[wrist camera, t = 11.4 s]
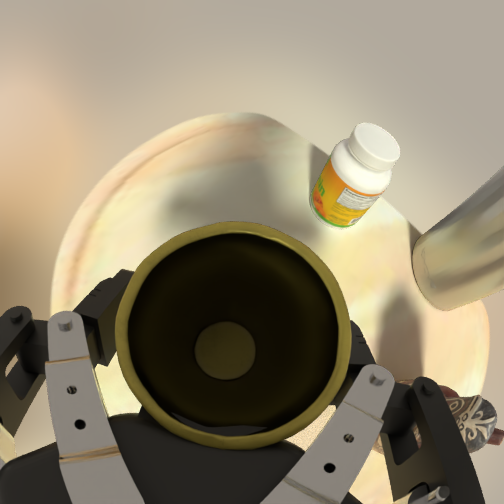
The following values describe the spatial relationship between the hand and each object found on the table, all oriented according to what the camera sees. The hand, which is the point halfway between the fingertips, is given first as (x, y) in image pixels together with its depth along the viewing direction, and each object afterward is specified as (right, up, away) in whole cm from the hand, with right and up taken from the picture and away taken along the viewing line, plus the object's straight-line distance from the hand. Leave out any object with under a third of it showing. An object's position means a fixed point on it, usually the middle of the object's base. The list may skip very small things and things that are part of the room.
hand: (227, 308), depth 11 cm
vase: (-1, -5, +7) cm, 9 cm away
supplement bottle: (+9, +7, +15) cm, 19 cm away
